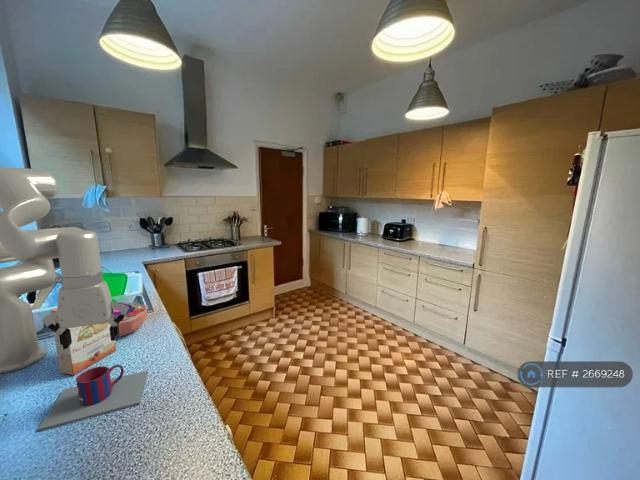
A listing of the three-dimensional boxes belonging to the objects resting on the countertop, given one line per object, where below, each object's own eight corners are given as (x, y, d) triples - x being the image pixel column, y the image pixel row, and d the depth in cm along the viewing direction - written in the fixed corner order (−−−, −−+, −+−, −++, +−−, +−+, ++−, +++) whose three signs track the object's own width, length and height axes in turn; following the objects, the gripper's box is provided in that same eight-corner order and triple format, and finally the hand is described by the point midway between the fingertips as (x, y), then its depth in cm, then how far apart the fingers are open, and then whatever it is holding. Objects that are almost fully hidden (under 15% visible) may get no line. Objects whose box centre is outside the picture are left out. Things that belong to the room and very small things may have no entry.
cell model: (100, 350, 93) (96, 320, 91) (92, 330, 107) (88, 303, 105) (155, 333, 105) (152, 306, 103) (141, 316, 119) (139, 292, 117)
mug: (77, 397, 71) (73, 374, 70) (122, 378, 79) (119, 357, 78) (82, 410, 67) (78, 386, 66) (129, 388, 75) (126, 367, 74)
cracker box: (74, 376, 80) (64, 312, 77) (59, 373, 81) (48, 309, 78) (118, 350, 94) (110, 294, 90) (104, 348, 95) (96, 292, 91)
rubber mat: (37, 431, 62) (37, 429, 62) (64, 391, 74) (63, 389, 74) (139, 404, 70) (139, 402, 70) (148, 372, 83) (147, 370, 82)
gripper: (27, 289, 59) (39, 358, 62) (121, 280, 67) (128, 342, 70) (44, 279, 66) (54, 341, 69) (128, 272, 73) (134, 329, 76)
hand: (91, 342), depth 69 cm, fingers open, 9 cm apart
